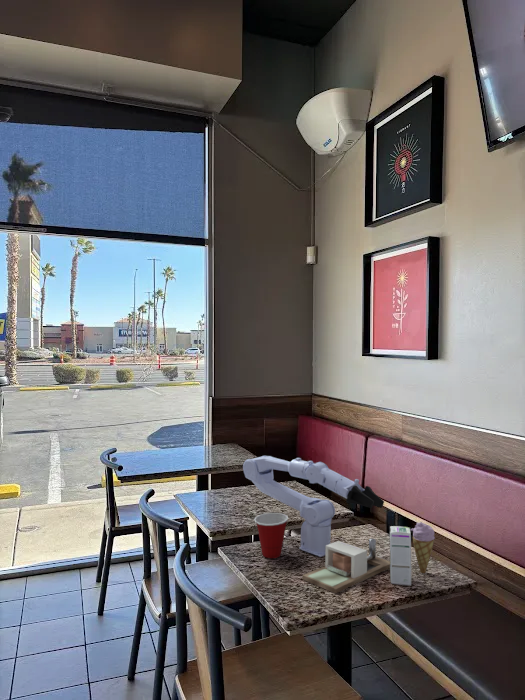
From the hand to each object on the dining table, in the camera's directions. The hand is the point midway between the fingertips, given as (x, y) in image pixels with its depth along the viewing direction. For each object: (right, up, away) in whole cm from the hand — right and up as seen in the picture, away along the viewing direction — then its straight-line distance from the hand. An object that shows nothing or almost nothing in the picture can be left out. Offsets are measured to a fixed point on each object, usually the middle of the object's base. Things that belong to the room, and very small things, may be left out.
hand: (377, 504), depth 160 cm
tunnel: (-10, -18, -5) cm, 21 cm away
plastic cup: (-32, -19, +9) cm, 38 cm away
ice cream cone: (+12, -19, -3) cm, 23 cm away
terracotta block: (-11, -17, -6) cm, 21 cm away
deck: (-9, -19, -4) cm, 21 cm away
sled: (-7, -17, -2) cm, 18 cm away
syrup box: (+4, -19, -9) cm, 21 cm away
